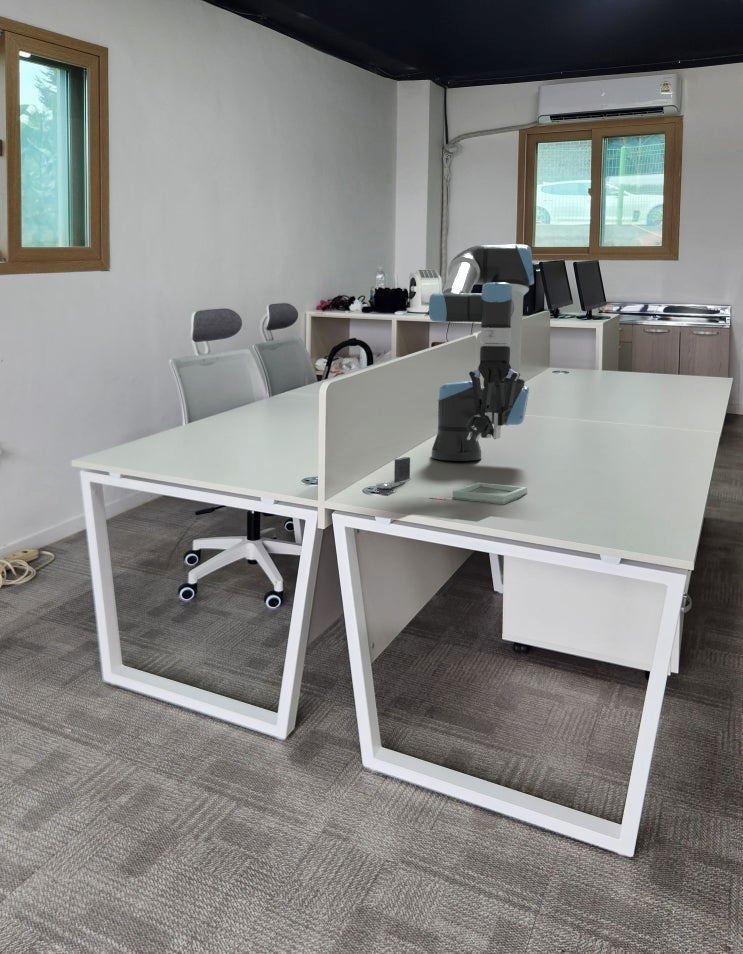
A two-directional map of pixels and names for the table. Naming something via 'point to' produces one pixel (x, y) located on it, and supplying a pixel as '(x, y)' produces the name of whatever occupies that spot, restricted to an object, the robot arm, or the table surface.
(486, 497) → the tray
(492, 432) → the power plug
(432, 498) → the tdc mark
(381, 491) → the hub
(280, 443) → the table surface
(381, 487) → the crank
